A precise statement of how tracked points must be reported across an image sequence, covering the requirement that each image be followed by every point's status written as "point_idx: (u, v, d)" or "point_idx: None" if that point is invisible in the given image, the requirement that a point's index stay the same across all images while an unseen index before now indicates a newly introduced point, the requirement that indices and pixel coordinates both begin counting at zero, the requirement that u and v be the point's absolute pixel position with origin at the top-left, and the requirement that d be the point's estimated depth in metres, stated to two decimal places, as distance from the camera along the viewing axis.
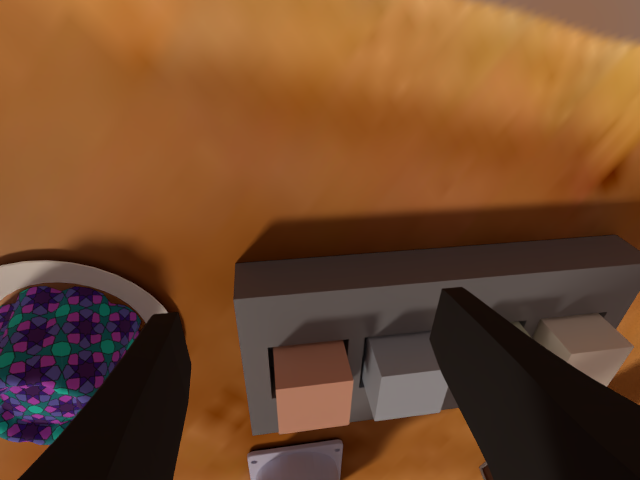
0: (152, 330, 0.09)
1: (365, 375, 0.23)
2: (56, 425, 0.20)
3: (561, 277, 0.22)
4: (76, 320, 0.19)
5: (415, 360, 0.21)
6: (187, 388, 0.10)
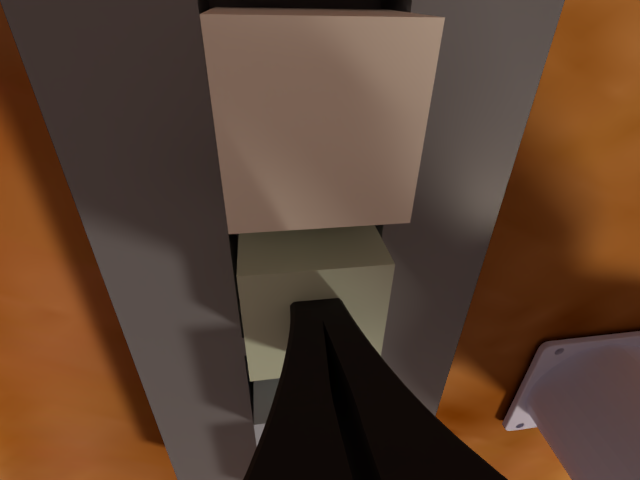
0: (304, 316, 0.09)
1: None
2: None
3: (93, 196, 0.10)
4: None
5: None
6: None
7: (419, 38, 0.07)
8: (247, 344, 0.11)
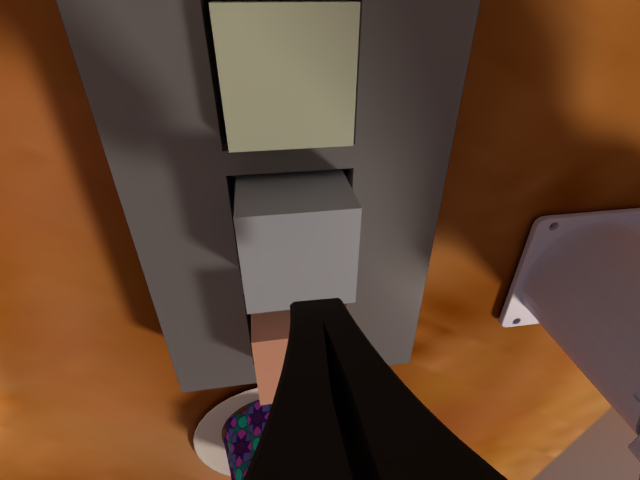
0: (304, 316, 0.09)
1: None
2: None
3: None
4: (233, 449, 0.25)
5: None
6: None
7: None
8: (224, 99, 0.11)
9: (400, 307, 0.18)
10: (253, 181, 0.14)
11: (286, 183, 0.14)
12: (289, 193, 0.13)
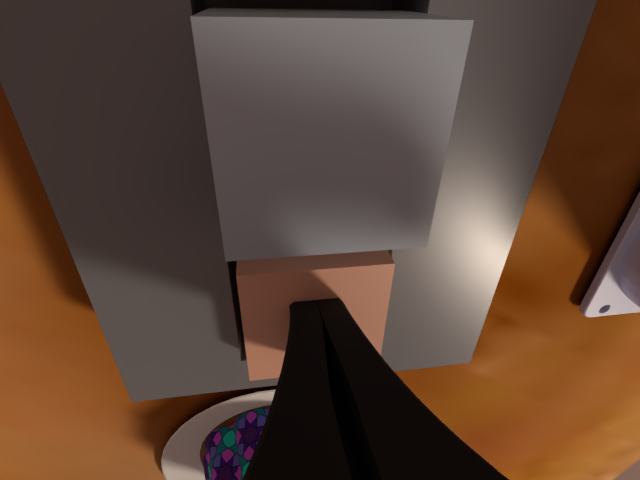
0: (303, 316, 0.09)
1: None
2: None
3: None
4: (215, 476, 0.18)
5: None
6: None
7: None
8: None
9: (470, 276, 0.12)
10: (243, 9, 0.07)
11: (305, 10, 0.07)
12: (312, 13, 0.06)
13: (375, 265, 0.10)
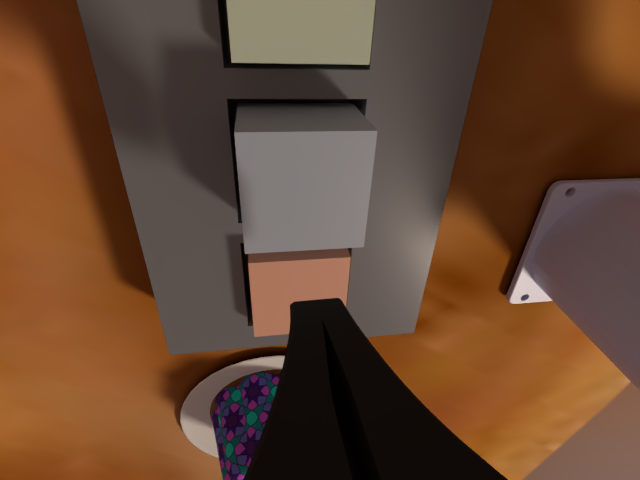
0: (304, 316, 0.09)
1: None
2: None
3: None
4: (224, 423, 0.23)
5: None
6: None
7: None
8: None
9: (408, 268, 0.17)
10: (257, 108, 0.12)
11: (292, 111, 0.12)
12: (296, 117, 0.12)
13: (337, 258, 0.15)
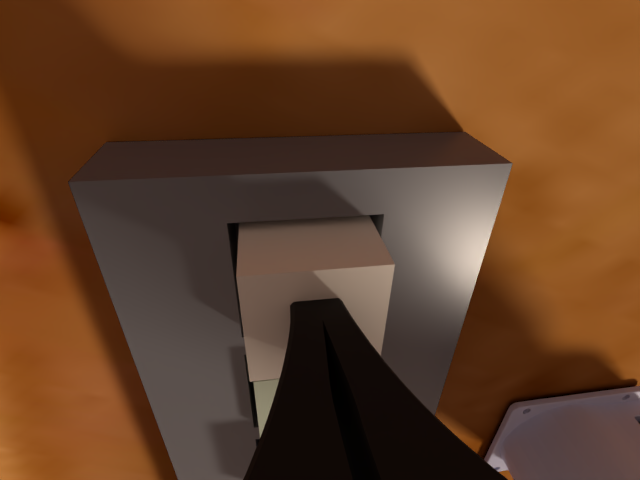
0: (304, 316, 0.09)
1: None
2: None
3: (143, 344, 0.13)
4: None
5: None
6: None
7: (378, 275, 0.10)
8: (259, 422, 0.14)
9: None
10: None
11: None
12: None
13: None
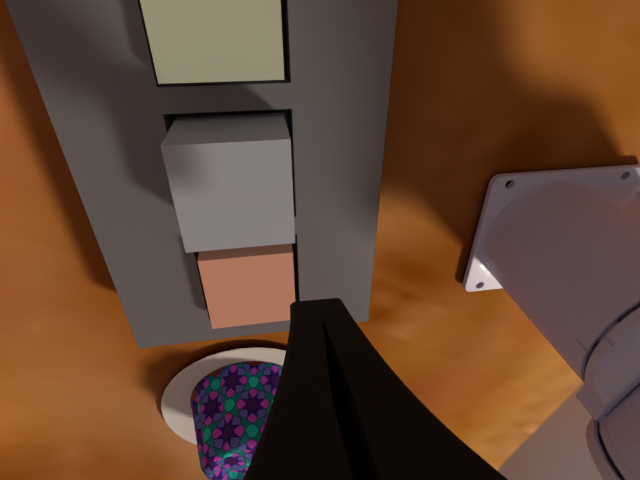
0: (304, 316, 0.09)
1: None
2: None
3: None
4: (203, 409, 0.25)
5: None
6: None
7: None
8: (148, 26, 0.11)
9: (353, 261, 0.19)
10: (192, 121, 0.14)
11: (223, 122, 0.14)
12: (222, 129, 0.13)
13: (280, 253, 0.16)
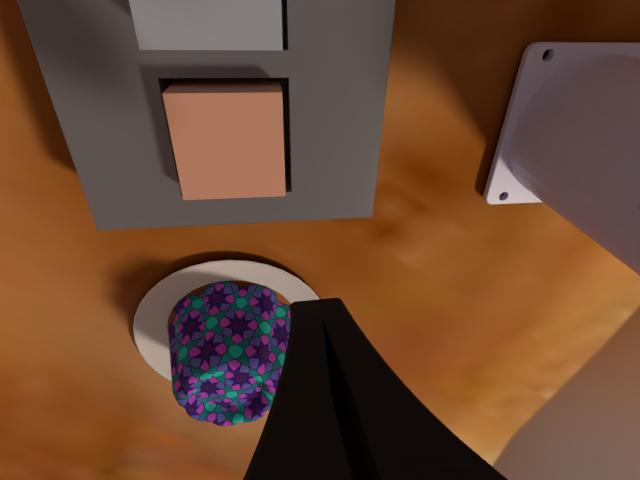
0: (304, 316, 0.09)
1: None
2: (262, 390, 0.21)
3: None
4: (181, 328, 0.21)
5: None
6: None
7: None
8: None
9: (357, 126, 0.15)
10: None
11: None
12: None
13: (267, 92, 0.13)
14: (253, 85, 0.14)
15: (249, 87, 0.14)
